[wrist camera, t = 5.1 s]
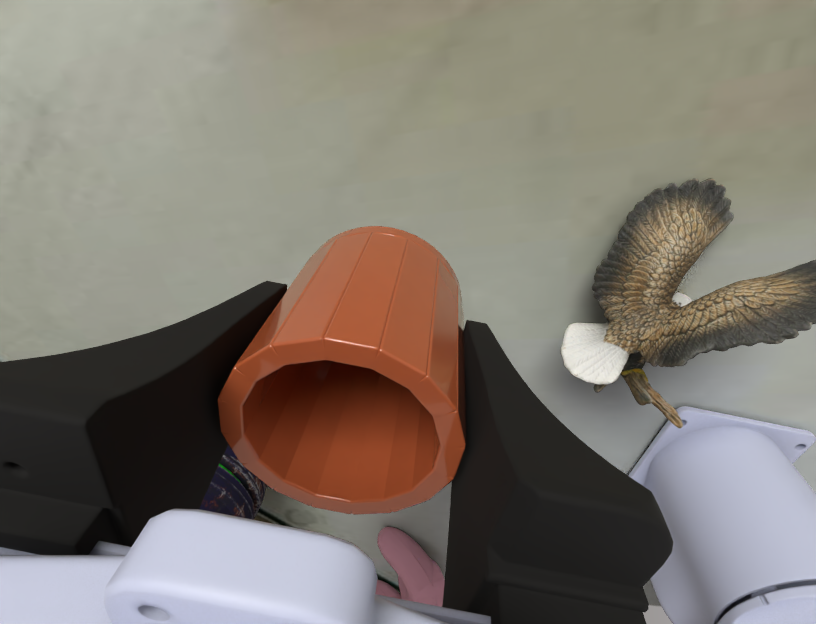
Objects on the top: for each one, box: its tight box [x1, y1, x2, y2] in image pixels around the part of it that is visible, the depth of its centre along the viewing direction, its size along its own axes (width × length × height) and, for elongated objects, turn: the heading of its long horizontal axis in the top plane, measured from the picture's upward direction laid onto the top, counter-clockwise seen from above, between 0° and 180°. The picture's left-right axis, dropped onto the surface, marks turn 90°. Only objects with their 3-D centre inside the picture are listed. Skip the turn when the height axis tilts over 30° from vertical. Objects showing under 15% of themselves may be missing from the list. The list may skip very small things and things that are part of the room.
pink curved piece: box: [375, 527, 445, 607], centre depth 34 cm, size 10×5×7 cm, turn 169°
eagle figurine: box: [560, 178, 816, 428], centre depth 18 cm, size 8×7×9 cm
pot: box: [218, 226, 466, 515], centre depth 12 cm, size 5×5×6 cm
